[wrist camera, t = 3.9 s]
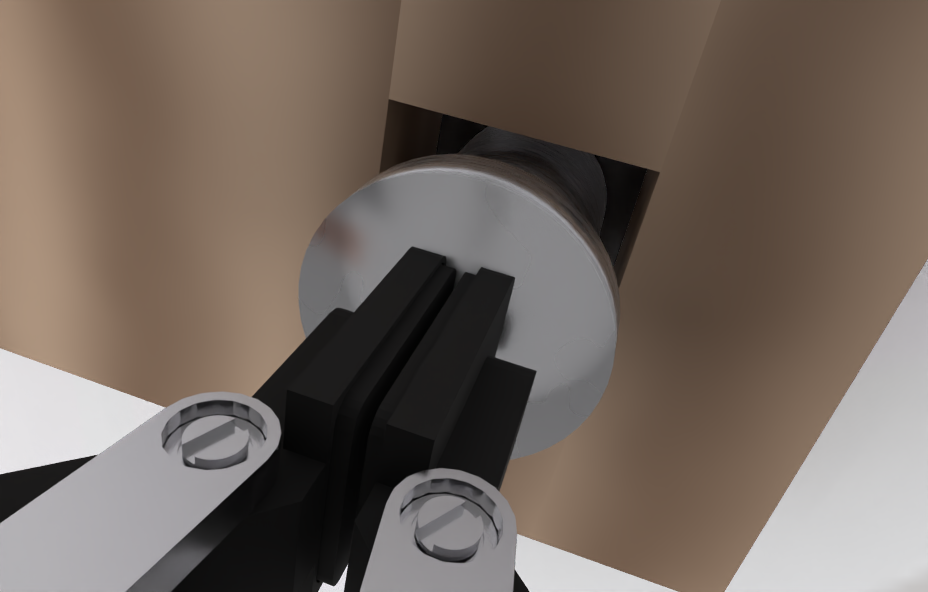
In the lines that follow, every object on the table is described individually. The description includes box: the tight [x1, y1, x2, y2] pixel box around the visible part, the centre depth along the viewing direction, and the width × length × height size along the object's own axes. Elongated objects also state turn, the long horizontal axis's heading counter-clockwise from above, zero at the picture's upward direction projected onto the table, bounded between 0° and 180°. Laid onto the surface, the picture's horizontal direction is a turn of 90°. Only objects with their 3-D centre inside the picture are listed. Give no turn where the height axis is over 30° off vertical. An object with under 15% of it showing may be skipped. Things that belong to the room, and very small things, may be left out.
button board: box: [0, 0, 928, 592], centre depth 16 cm, size 30×14×4 cm, turn 79°
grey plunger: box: [298, 126, 620, 460], centre depth 13 cm, size 5×5×6 cm
